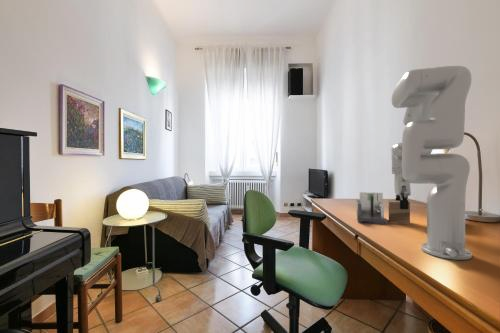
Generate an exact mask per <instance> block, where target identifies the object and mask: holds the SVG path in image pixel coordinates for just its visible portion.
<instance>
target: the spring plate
mask: <svg viewBox="0 0 500 333" xmlns="http://www.w3.org/2000/svg"><path fill="white" fill-rule="evenodd" d="M376 212H377V213H379V216H380V218H385V206H384V204H383V205H382V204H381V203H379V209H376Z"/></svg>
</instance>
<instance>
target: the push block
mask: <svg viewBox="0 0 500 333" xmlns="http://www.w3.org/2000/svg"><path fill="white" fill-rule="evenodd" d="M408 206H409V209H400V201H396V200H389V199H388V221H389V223H390V224H402V225H403V224H404V225H410V224H411V202H410V201H409V200H408Z"/></svg>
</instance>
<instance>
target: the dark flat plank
mask: <svg viewBox="0 0 500 333" xmlns="http://www.w3.org/2000/svg"><path fill="white" fill-rule="evenodd" d="M371 216H372V217H374V208H373V196H371Z"/></svg>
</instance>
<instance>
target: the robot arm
mask: <svg viewBox="0 0 500 333" xmlns="http://www.w3.org/2000/svg"><path fill="white" fill-rule="evenodd" d="M471 84H472V72H470V69H468V68H467V67H466V66H463V65H447V66H436V67H427V68H416V69H411V70H408V71H406V72H405V73H404V74H403V75H402V77H401V79H400V80H399V81H398V82H397V84H396V86H395V87H394V89H393V92H392V95H391V104H392V106H393V108H395V109H402V108H404V109H405V108H406V110H405V112H404V113H405V114H404V117H403V120H402V121H403V124H404V125H405V127H404V129H403V132H402V137H401V138H402V140H401V142H398V143H395V144H394V145H392V146H391V174H392V175H394V183H393V184H394V194H395V201H400V209H409V206H408V201H409V196H411V195H412V193H411V192H412V190H411V184H414V185H415V184H421V185H422V184H424V185H425V184H429V185H431V184H432V185H433V186H432V188H431V189H430V190H429V192H428V194H427V197H426V242H424V243H421V247H420V248H421V250H422V251H423V252H424V253H427V254H429V255H432V256H434V257H438V258H442V259H447V260H456V261H457V260H458V261H460V260H461V261H463V260H464V261H466V260H470V259H472V258H473V253H472V252H471V250H469V249H467V248H466V194H467V193H466V192H467V184H468V180H469V175H470V168H471V165H470V162H469V161H468V158H466V157H465V156H464V155H461V154H459V153H451V152H450V153H448V152H447V153H442V152H441V153H432V152H433V150H448V149H450V150H451V149H455V148H458V147H459V146H461V145H462V144H463V141H464V136H465V120H466V101H467V97H468V95H469V91H470V89H471Z"/></svg>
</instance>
